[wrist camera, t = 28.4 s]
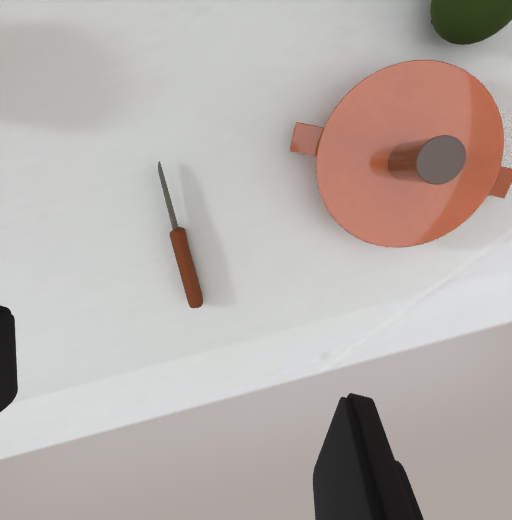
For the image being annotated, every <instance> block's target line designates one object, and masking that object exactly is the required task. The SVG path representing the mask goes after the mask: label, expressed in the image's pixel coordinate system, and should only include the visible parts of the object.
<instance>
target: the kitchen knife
mask: <svg viewBox="0 0 512 520" xmlns="http://www.w3.org/2000/svg"><path fill="white" fill-rule="evenodd" d="M158 172H159V176H160V180H161V184H162V188H163V192H164V196H165V200H166V204H167V208H168V212H169V216H170V220H171V224H172V228H173V230H172V231H171V232H170V238H171V242H172V245H173V249H174V253H175V256H176V260H177V264H178V267H179V271H180V275H181V278H182V282H183V285H184V289H185V293H186V296H187V300H188V303H189V306H190V307H191V308H198V307H201V306H202V304H203V300H202V294H201V290H200V286H199V282H198V279H197V275H196V272H195V268H194V265H193V261H192V257H191V254H190V250H189V246H188V242H187V238H186V233H185V229H183V228H181V227H178V224H177V221H176V217H175V213H174V210H173V206H172V202H171V199H170V195H169V192H168V188H167V185H166V181H165V178H164V174H163V171H162V167H161V164H160V161H159V163H158Z"/></svg>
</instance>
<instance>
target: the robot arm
mask: <svg viewBox="0 0 512 520" xmlns="http://www.w3.org/2000/svg"><path fill="white" fill-rule="evenodd" d="M17 391H18V386H17V364H16V341H15V320H14V316H13V315H12V314H11V311H10V310H9V308H6V307H3V306H0V412H1V411H2V410H4V409H5V408H6V407H7V406H8V405H9V404H10V403H11V402H12V401H13V400H14V398H15V397H16V394H17ZM313 490H314V505H315V519H316V520H423V517H422V514H421V511H420V509H419V506H418V504H417V501H416V498H415V496H414V493H413V490H412V488H411V485H410V482H409V480H408V477H407V475H406V472H405V470H404V468H403V466H402V465H401V464H400V463H399V462H398V461H396V460H395V459H394V457H393V454H392V451H391V448H390V445H389V443H388V440H387V437H386V434H385V431H384V429H383V426H382V423H381V420H380V417H379V415H378V412H377V409H376V406H375V403H374V401H373V399H371V398H368V397H364V396H360V395H356V394H352V393H350V394H349V395H348V396H347V398H345V397H341V398H340V400H339V403H338V406H337V408H336V411H335V414H334V416H333V419H332V422H331V425H330V427H329V430H328V433H327V435H326V438H325V441H324V444H323V446H322V449H321V452H320V454H319V457H318V460H317V462H316V465H315V468H314V473H313Z"/></svg>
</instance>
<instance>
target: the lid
mask: <svg viewBox="0 0 512 520" xmlns="http://www.w3.org/2000/svg"><path fill="white" fill-rule="evenodd" d="M503 148H504V131H503V125H502V119H501V116H500V113H499V110H498V107H497V105H496V103H495V101H494V99H493V98H492V96H491V94H490V93H489V92H488V90H487V89H486V88H485V86H484V85H483V84H482V83H480V82H479V81H478V80H477V79H476V78H475V77H474V76H472V75H471V74H469V73H468V72H466V71H465V70H463V69H461V68H459V67H456V66H454V65H451V64H448V63H444V62H440V61H432V60H413V61H407V62H401V63H398V64H395V65H391V66H388V67H386V68H384V69H382V70H379V71H377V72H375V73H374V74H372V75H370V76H369V77H367V78H365V79H364V80H363V81H361V82H360V83H359V84H357V85H356V86H355V87H354V88H353V89H352V90H351V91H350V92H349V93H348V94H347V95H346V96H345V97H344V98H343V99H342V100H341V102H340V103H339V104H338V105H337V107H336V108H335V109H334V111H333V113H332V114H331V116H330V117H329V119H328V121H327V123H326V125H325V127H324V130H323V132H322V135H321V138H320V141H319V145H318V150H317V156H316V178H317V183H318V189H319V192H320V195H321V198H322V200H323V202H324V204H325V206H326V208H327V210H328V211H329V213H330V214H331V216H332V217H333V218H334V219H335V220H336V221H337V223H338V224H339V225H340V226H341V227H343V228H344V229H345V230H346V231H347V232H349V233H350V234H352V235H353V236H355V237H357V238H359V239H361V240H363V241H365V242H368V243H371V244H375V245H379V246H385V247H410V246H415V245H420V244H424V243H427V242H430V241H433V240H435V239H437V238H439V237H442V236H444V235H445V234H447V233H449V232H451V231H452V230H454V229H455V228H457V227H458V226H459V225H461V224H462V223H463V222H465V221H466V220H467V219H468V218H469V217H470V216H471V215H472V214H473V213H474V212H475V211H476V210H477V208H478V207H479V206H480V205H481V204H482V202H483V201H484V199H485V198H486V196H487V195H488V194H489V192H490V190H491V188H492V186H493V184H494V182H495V180H496V177H497V175H498V172H499V169H500V165H501V161H502V157H503Z"/></svg>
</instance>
